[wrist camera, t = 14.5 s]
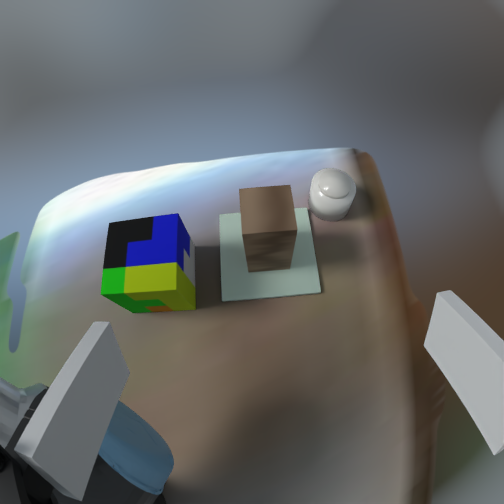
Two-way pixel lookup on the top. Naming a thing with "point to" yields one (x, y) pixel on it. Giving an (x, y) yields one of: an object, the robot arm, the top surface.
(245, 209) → the walnut block
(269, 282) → the pad
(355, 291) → the top surface
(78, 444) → the robot arm
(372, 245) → the top surface
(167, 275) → the puzzle toy
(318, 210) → the sugar bowl
